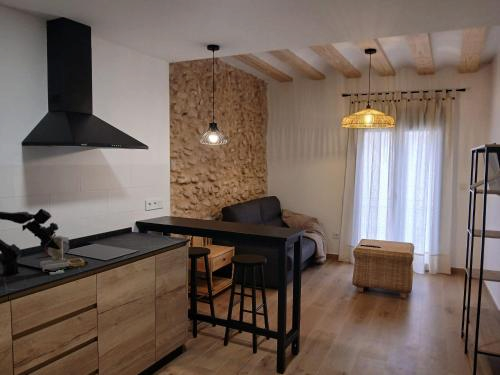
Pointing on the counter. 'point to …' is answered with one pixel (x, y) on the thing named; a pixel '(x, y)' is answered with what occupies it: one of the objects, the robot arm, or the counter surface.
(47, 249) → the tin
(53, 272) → the pad
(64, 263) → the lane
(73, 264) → the trap tray
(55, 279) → the counter surface
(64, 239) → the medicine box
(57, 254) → the beech block
